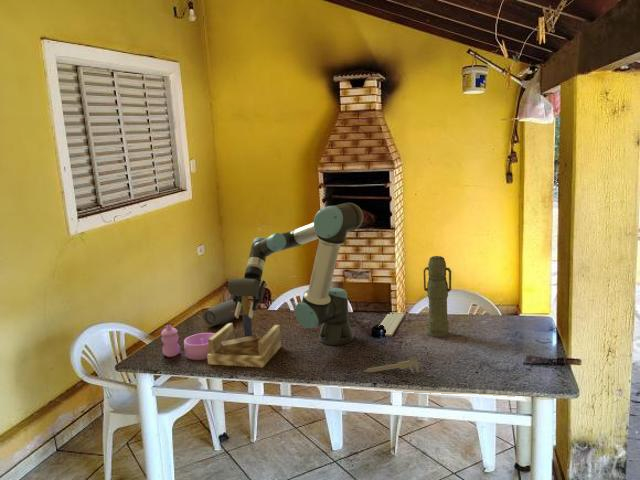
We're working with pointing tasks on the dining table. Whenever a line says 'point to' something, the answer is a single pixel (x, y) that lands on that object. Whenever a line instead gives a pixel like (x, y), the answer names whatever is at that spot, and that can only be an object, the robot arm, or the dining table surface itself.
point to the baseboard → (392, 322)
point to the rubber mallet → (244, 298)
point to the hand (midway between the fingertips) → (243, 316)
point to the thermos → (437, 296)
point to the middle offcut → (244, 351)
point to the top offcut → (240, 343)
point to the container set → (185, 344)
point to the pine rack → (266, 350)
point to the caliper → (396, 366)
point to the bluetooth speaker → (221, 313)
